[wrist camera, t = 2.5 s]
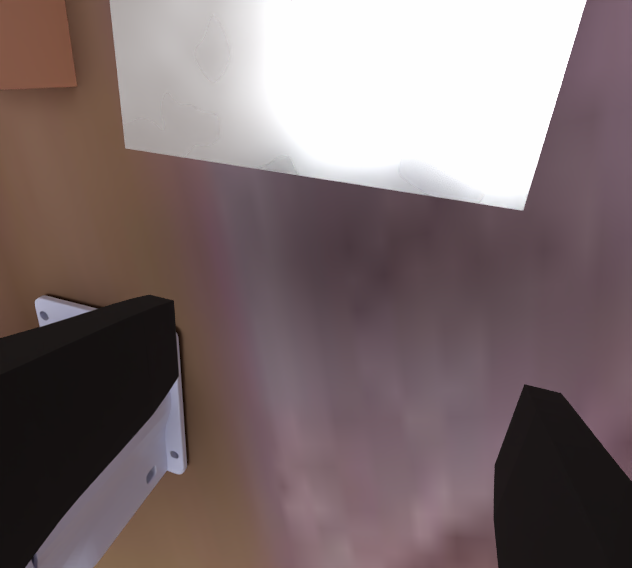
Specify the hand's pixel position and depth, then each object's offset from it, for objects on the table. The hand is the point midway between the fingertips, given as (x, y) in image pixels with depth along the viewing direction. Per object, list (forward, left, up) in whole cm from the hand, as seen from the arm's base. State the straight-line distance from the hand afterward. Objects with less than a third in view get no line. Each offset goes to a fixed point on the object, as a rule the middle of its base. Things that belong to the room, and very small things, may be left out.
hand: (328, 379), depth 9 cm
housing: (+6, +2, -8) cm, 10 cm away
